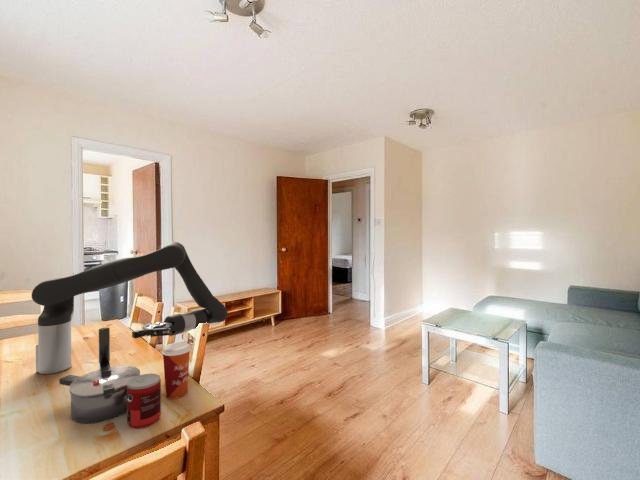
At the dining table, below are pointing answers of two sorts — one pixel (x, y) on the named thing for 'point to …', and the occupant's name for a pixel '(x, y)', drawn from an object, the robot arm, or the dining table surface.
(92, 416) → the pot
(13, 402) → the dining table surface
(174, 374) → the coffee cup
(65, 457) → the dining table surface
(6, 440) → the dining table surface
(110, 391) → the lid
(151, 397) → the canned food
